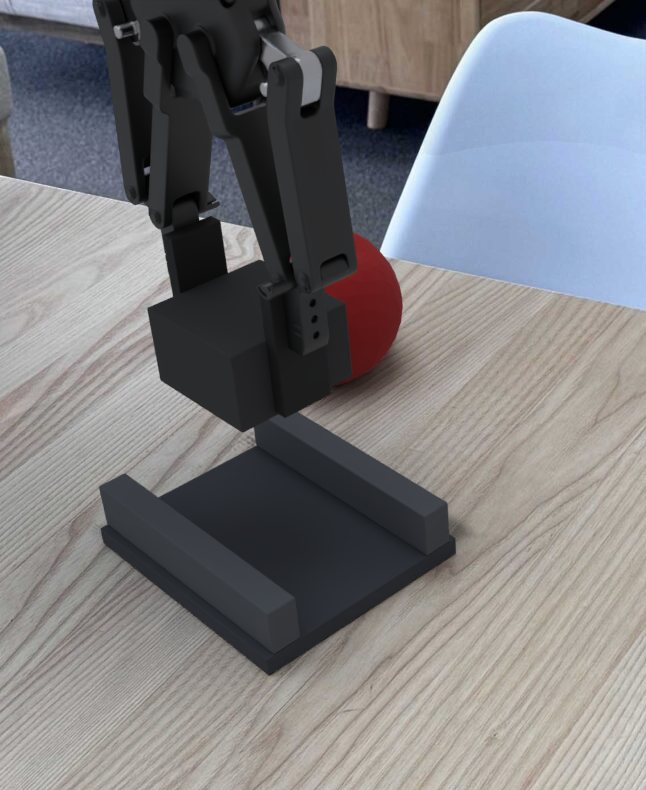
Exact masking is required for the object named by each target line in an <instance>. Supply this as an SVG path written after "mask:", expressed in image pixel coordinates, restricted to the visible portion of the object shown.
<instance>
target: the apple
mask: <svg viewBox="0 0 646 790" xmlns="http://www.w3.org/2000/svg"><path fill="white" fill-rule="evenodd" d="M353 237H354V243H355V250H356V257H357V263H358V269H357V271H356V273H354V274H352V275H350V276H348V277H346V278H344V279H341V280H339V281H337V282H335V283H333V284H331V285H328V286H326V287H325V293H327V294H329V295H331V296H333V297H335V298H337V299H339V300H341V301H342V302H344V303H345V304H346V312H347V322H348V332H349V343H350V353H351V363H352V374H353V375H352V376H351V377H349V378H347V379H345V380H343V381H342V382H340V383H338V384H336V385H335V386H340V385H343V384H347V383H349V382H351V381H353V380H355V379H357V378H359V377H362V376H363V375H364V374H367V373H368V372H370V371H372V370H373V369H375V367H376V366H377V365H378V364H379V363H380V362H381V361H382V360H384V358H385V357H386V355H387V354H388V353H389V351H390V349H391V348H392V346H393V344H394V342H395V341H396V339H397V337H398V332H399V330H400V327H401V324H402V318H403V311H404V310H403V309H404V306H403V305H404V304H403V294H402V289H401V285H400V283H399V280H398V277H397V275H396V272H395V270H394V268H393V266H392V265H391V263H390V261H389V260H388V259H387V258H386V257H385V255H384V254H383V253H382V252H381V251H380V249H379V248H378V247H376V245H374V244H373V243H372V242H371V241H370V240H369V239H367V237H365V236H363V235H361V234H359V233H357V232H354V231H353ZM290 260H291V257H290Z"/></svg>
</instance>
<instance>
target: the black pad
mask: <svg viewBox="0 0 646 790" xmlns="http://www.w3.org/2000/svg"><path fill="white" fill-rule="evenodd" d="M268 281H270V278H269V275H268V272H267V269H266V266H265V263H264V260H263V259H257V260H254V261H252V262H250V263H248V264H245V265H243V266H241V267H238V268H236V269H233V270H231V271H228V273H227V274H224V275H222V276H220V277H217V278H215V279H213V280H211V281H208V282H206V283H204V284H201V285H199V286H197V287H194V288H192V289H190V290H187V291H185V292H183V293H180V294H178V295H176V296H173V295H172V297H169V298H166V299H164V300H162V301H160V302H158V303H155V304H153V305H149V306H148V307H147V308H146V312H147V316H148V323H149V326H150V332H151V338H152V343H153V348H154V349H153V350H154V353H155V359H156V364H157V369H158V374H159V375H158V376H159V380H160V381H161V382H162V383H164V384H165V385H167V386H168V387H170V388H171V389H173V390H175V391H176V392H178V393H179V394H181V395H182V396H184V397H186V398H187V399H189V400H190V401H192V402H194V403H195V404H197V405H198V406H199V407H201V408H203V409H204V410H206V411H207V412H209V413H211V415H214V416H215V417H216V418H218V419H220V420H221V421H223V422H225V423H226V424H228V425H229V426H231V427H232V428H234V429H236V431H239V432H240V433H245V432H247V431H249V430H251V429H254V427H255V426H257V425H259V424H261V423H263V422H264V421H266V420H268V419H270V418H272V417H274V416H276V415H278V414H277V413H276V412H275V406H274V399H273V391H272V384H271V376H270V369H269V362H268V354H267V347H266V342H265V334H264V327H263V319H262V312H261V304H260V297H259V292H258V290H257V288H256V287H257V286H259V285H261V284H264V283H266V282H268ZM325 298H326V307H327V317H328V324H327V325H328V327H329V340H328V344H326V348H327V357H328V367H329V376H330V385H331V388H332V387H334V386H337V385H336V384H338V383H340V382H342V381H343V380H345V379H347V378H349V377H351V376H352V375H353V374H352V363H351V353H350V343H349V332H348V322H347V312H346V304H345V303H344V302H342V301H341V300H339V299H337V298H335V297H333V296H331V295H329V294H327V293H325Z"/></svg>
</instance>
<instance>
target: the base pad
mask: <svg viewBox="0 0 646 790" xmlns="http://www.w3.org/2000/svg"><path fill="white" fill-rule="evenodd" d="M253 431H254V439H255V446H253V447H251V448H248V449H247V450H245V451H243V452H241V453H239V454H238V455H235V456H234V457H232V458H229V459H228V460H226V461H224V462H223V463H221V464H218V465H217V466H215V467H213V468H211V469H209V470H207V471H206V472H203V473H202V474H200V475H198V476H196V477H194V478H193V479H189V481H187V482H184V483H183V484H181V485H179V486H177V487H175V488H173V489H172V490H170V491H168V492H165V493H164V494H161V495H159V496H157V495H156V494H155V493H153V492H152V491H151V490H149V489H148V488H146V487H145V486H143V485H142V484H141V483H140V482H138V481H136V480H135V479H134V478H132V477H131V476H130V475H128V474H127V473H126V472H125V473H122V474H120V475H118V476H116V477H114V478H111V479H110V480H108V481H106V482H104V483H102V484H99V486H98V489H99V494H100V498H101V503H102V507H103V511H104V517H105V521H106V525H103V526H101V527H100V528H99V529H100V533H101V538H102V542H103V544H104V545H105V546H107V547H108V548H109V549H110V550H112V551H113V552H114V553H115V554H116V555H118V556H119V557H120V558H122V559H123V560H124V561H125V562H127V563H128V564H129V565H131V567H133V568H134V569H135V570H137V571H138V572H139V573H140V574H142V575H143V576H144V577H146V578H147V580H149V581H150V582H152V584H154V585H156V586H157V587H158V588H159V589H160V590H162V591H163V592H164V593H166V594H167V595H168V596H169V597H171V598H172V599H173V600H174V601H176V602H177V603H178V604H179V605H181V606H182V607H183V608H184V609H186V610H187V611H188V612H189V613H191V614H192V615H193V616H195V618H197V619H198V620H199V621H200V622H201V623H203V624H204V625H205V626H206V627H208V628H210V629H211V630H212V631H213V632H214V633H216V634H217V635H218V636H220V637H221V638H222V639H223V640H225V641H226V642H227V643H228V644H229V645H231V646H232V647H233V648H234V649H236V650H237V651H238V652H240V653H241V654H242V655H243V656H245V658H247V659H248V660H250V661H251V662H252V663H253V664H255V666H257V667H258V668H259V669H260V670H262V671H264V672H265V674H267V675H268V676H270V675H273V673H275V672H277V671H278V670H279V669H281V668H283V667H284V666H285V665H287V664H288V663H290V662H292V661H293V660H294V659H295V660H296V658H298V657H300V656H301V655H303V654H304V653H305V652H307V651H308V650H310V649H312V648H313V647H314V646H316V645H318V644H319V643H321V642H323V641H324V640H325V639H327V638H328V637H330V636H331V635H333V634H335V633H336V632H338V631H340V630H341V629H342V628H344V627H345V626H347V625H348V624H349V623H352V621H354V620H356V619H357V618H359V617H360V616H362V615H363V614H365V613H366V612H368V611H370V610H371V609H372V608H374V607H376V606H378V605H379V604H380V603H382V602H383V601H385V600H387V599H388V598H390V597H391V596H393V595H395V593H397V592H399V591H400V590H402V589H403V588H405V587H406V586H408V585H409V584H411V583H412V582H414V581H415V580H417V579H418V578H420V577H421V576H423V575H424V574H426V573H428V572H429V571H431V570H432V569H433V568H435V567H437V566H438V565H439V564H442V563H443V562H445V561H446V560H447V559H449V558H451V557H452V556H454V555H455V554H456V553H457V543H456V537H454V536H453V535H452V534H450V524H449V522H450V521H449V505H448V504H449V503H448V502H447V501H445V500H444V499H442V498H440V497H439V496H438V495H436V494H434V493H432V492H431V491H429V490H428V489H426V488H424V487H423V486H421V485H419V484H418V483H417V482H414V481H413V480H412V479H410V478H408V477H406V476H405V475H403V474H401V473H399V472H398V471H396V470H395V469H393V468H391V467H390V466H388V465H386V464H384V463H383V462H381V460H380V461H379V460H378V459H376V458H375V457H373V456H371V455H370V454H368V453H367V452H365V451H364V450H362V449H360V448H359V447H356V446H355V445H353V444H352V443H350V442H349V441H347V440H345V439H344V438H342V437H340V436H339V435H337V434H336V433H333V431H330V430H328V429H327V428H326V427H324V426H322V425H320V424H319V423H318V422H315V421H314V420H312V419H311V418H309V417H307V416H306V415H304V414H302V413H301V412H300V411H298V412H296V413H294V414H292V415H290V416H288V417H287V418H284V417H282V416H281V415H279V414H278V415H276V416H274V417H272V418H270V419H268V420H266V421H264V422H263V423H261V424H259V425H257V426H255V427H253Z"/></svg>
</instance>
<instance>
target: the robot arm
mask: <svg viewBox="0 0 646 790" xmlns="http://www.w3.org/2000/svg"><path fill="white" fill-rule="evenodd" d="M91 2H92V4H91V5H92V10H93V14H94V16H95V20H96V23H97V27H98V30H99V33H100V37H101V40H102V41H103V46H104V49H105V55H106V63H107V71H108V78H109V86H110V94H111V100H112V108H113V115H114V122H115V130H116V131H115V132H116V139H117V146H118V152H119V160H120V168H121V176H122V184H123V190H124V193H125V196H126V198H127V200H128V201H129V202H130V203H131V204H132V205H133V206H138V205H140V204H144V205H145V206H146V207H147V211H148V213H147V215H148V217H149V219H150V222H151V223H152V225H153V226H154V227H155V228H156V229H157V230H160V234H161V239H162V245H163V251H164V254H165V255H164V258H165V262H166V268H167V274H168V276H169V281H170V287H171V293H172V297H173V296H176V295H178V294H180V293H183V292H185V291H187V290H190V289H192V288H194V287H197V286H199V285H201V284H204V283H206V282H208V281H211V280H213V279H215V278H217V277H220V276H222V275H224V274H227V273H229V271H228V264H227V257H226V249H225V244H224V243H225V242H224V236H223V230H222V223H221V222H222V221H221V220H220V219H218V218H216V217H215V216H212V215H209V216H207V217H205V218H202V219H200V215H201V214H204V213H207V212H209V211H212V210H215V209H217V208H218V207H219V206H220V205H221V201H217V200H218V199H217V198H216V197H215V196H214V195H213V194H212V193H210V191H209V188H210V187H209V186H210V177H211V163H212V151H213V149H212V148H213V137H215V138H217V139H221V140H222V141H224V144H225V146H226V150H227V152H228V156H229V158H230V161H231V164H232V167H233V168H232V169H233V171H234V174H235V176H236V177H235V178H236V180H237V183H238V185H239V189H240V192H241V194H242V199H243V202H244V204H245V207H246V210H247V213H248V216H249V221H250V223H251V225H252V229H253V232H254V235H255V238H256V241H257V244H258V247H259V250H260V253H261V257H262V261H264V263H265V266H266V269H267V272H268V275H269V278H270V281H268V282H266V283H264V284H261V285H259V286H257V287H256V288H257V290H258V292H259V297H260V304H261V312H262V319H263V327H264V334H265V342H266V347H267V354H268V362H269V369H270V376H271V384H272V391H273V399H274V406H275V412H276V413H277V414H279V415H281V416H282V417H284V418H287V417H288V416H290V415H292V414H294V413H296V412H300V411H302V410H303V409H306V408H308V407H310V406H311V405H313V404H315V403H317V402H319V401H321V400H323V399H325V398H327V397H329V396H330V395H332V387H331V385H330V376H329V367H328V357H327V348H326V344H328V340H329V327H328V325H327V324H328V317H327V307H326V298H325V287H326V286H328V285H331V284H333V283H335V282H337V281H339V280H341V279H344V278H346V277H348V276H350V275H352V274H354V273H356V271H357V269H358V263H357V257H356V250H355V243H354V237H353V232H354V230H353V225H352V224H353V223H352V218H351V211H350V205H349V198H348V197H349V196H348V191H347V185H346V184H347V183H346V177H345V170H344V165H343V157H342V149H341V144H340V138H339V137H340V136H339V131H338V124H337V123H338V122H337V117H336V111H335V98H336V97H335V95H336V85H337V76H338V75H337V74H338V60H337V58H336V55H335V54H334V52H333V50H332V49H331V48H330V47H329V46H327V45H320V46H317V47H314V48H310V49H308V50H307V49H304V48H303V47H302V46H301V45H300V44H298V43H297V42H295V41H294V40H292V39H291V38H290V37H288V36H287V31H286V24H285V21H284V19H283V16H282V14H281V12H280V9H279V6H278V3H277V0H92V1H91ZM261 97H262V101H261V103H259V104H258V105H254V106H251V107H249V108H246V109H244V110H241V111H237V112H235V113H233V111H232V110H233V109H236V108H238V107H242V106H244V105H247V104H250V103H253V102H255V101H258V100H259V99H260V98H261ZM147 168H149V172H146V173H145V169H147ZM290 257H291V260H290Z"/></svg>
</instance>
